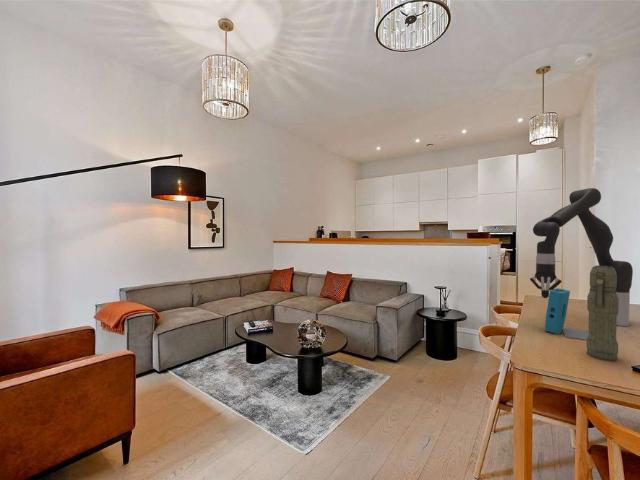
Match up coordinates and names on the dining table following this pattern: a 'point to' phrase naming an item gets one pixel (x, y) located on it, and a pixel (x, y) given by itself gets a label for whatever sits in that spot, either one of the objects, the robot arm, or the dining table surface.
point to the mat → (575, 333)
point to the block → (556, 310)
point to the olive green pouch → (602, 313)
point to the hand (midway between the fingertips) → (545, 297)
